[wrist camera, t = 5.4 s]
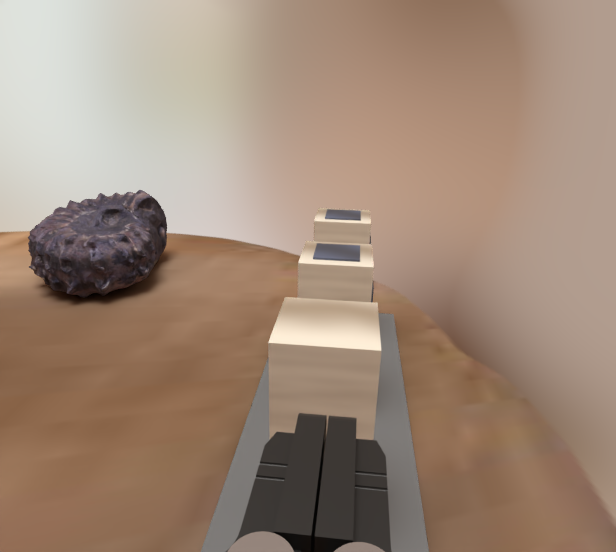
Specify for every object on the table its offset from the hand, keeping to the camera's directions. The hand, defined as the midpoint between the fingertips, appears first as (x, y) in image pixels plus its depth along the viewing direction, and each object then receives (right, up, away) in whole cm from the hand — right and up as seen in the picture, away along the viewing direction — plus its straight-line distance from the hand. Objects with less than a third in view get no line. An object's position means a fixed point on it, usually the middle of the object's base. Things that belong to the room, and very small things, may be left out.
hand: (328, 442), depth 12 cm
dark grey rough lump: (-26, +4, +50) cm, 56 cm away
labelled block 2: (+1, -5, +26) cm, 26 cm away
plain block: (0, -9, +15) cm, 18 cm away
